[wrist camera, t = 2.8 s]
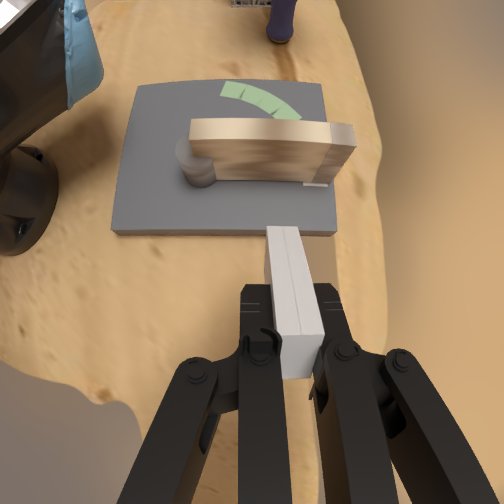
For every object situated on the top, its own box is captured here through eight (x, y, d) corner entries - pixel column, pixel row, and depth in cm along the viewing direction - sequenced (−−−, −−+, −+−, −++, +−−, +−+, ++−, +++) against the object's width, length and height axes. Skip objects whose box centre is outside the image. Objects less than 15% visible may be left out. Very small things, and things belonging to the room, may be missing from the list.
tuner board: (119, 235, 31) (110, 230, 28) (142, 97, 34) (137, 85, 31) (330, 236, 31) (337, 231, 29) (316, 95, 34) (321, 83, 32)
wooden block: (183, 188, 29) (164, 149, 21) (186, 156, 30) (170, 112, 22) (330, 190, 29) (357, 154, 21) (327, 159, 30) (351, 117, 22)
